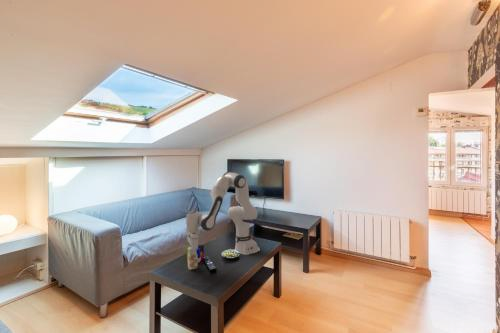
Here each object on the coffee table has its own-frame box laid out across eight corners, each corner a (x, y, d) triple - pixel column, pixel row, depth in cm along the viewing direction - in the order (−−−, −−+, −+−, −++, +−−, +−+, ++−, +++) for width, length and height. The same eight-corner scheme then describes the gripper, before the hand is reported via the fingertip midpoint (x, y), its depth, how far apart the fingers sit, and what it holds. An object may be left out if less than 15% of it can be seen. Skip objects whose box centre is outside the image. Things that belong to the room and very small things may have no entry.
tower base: (195, 264, 193) (195, 258, 192) (197, 268, 187) (197, 261, 187) (187, 266, 190) (187, 259, 190) (189, 269, 185) (189, 263, 184)
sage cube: (195, 252, 191) (195, 245, 191) (196, 254, 187) (196, 248, 186) (188, 253, 189) (188, 247, 189) (189, 256, 185) (189, 249, 184)
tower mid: (195, 258, 192) (195, 252, 192) (197, 261, 187) (197, 255, 186) (187, 259, 190) (187, 253, 189) (189, 263, 184) (189, 256, 184)
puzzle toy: (198, 262, 196) (198, 250, 196) (186, 261, 198) (186, 249, 198) (203, 257, 206) (203, 245, 206) (192, 256, 208) (192, 244, 208)
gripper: (185, 229, 195) (185, 246, 196) (190, 237, 176) (191, 256, 177) (193, 228, 198) (193, 245, 198) (199, 236, 179) (199, 255, 180)
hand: (192, 250), depth 188 cm, fingers open, 8 cm apart
